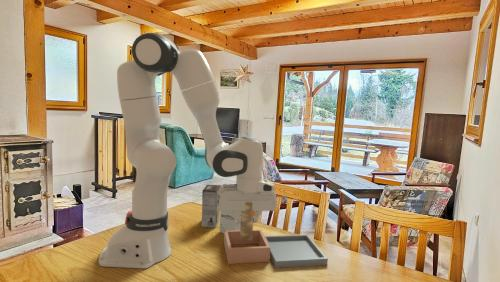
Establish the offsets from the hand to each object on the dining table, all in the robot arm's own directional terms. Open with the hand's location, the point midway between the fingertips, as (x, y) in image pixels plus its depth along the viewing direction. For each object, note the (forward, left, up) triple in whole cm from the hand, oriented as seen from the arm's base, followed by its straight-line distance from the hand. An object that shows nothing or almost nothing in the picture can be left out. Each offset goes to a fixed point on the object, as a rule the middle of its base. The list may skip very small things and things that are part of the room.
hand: (246, 222), depth 101 cm
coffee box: (-11, +26, -11) cm, 30 cm away
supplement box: (-3, +17, -11) cm, 21 cm away
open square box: (0, 0, -11) cm, 11 cm away
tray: (+17, -2, -11) cm, 20 cm away
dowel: (0, 0, -6) cm, 6 cm away
